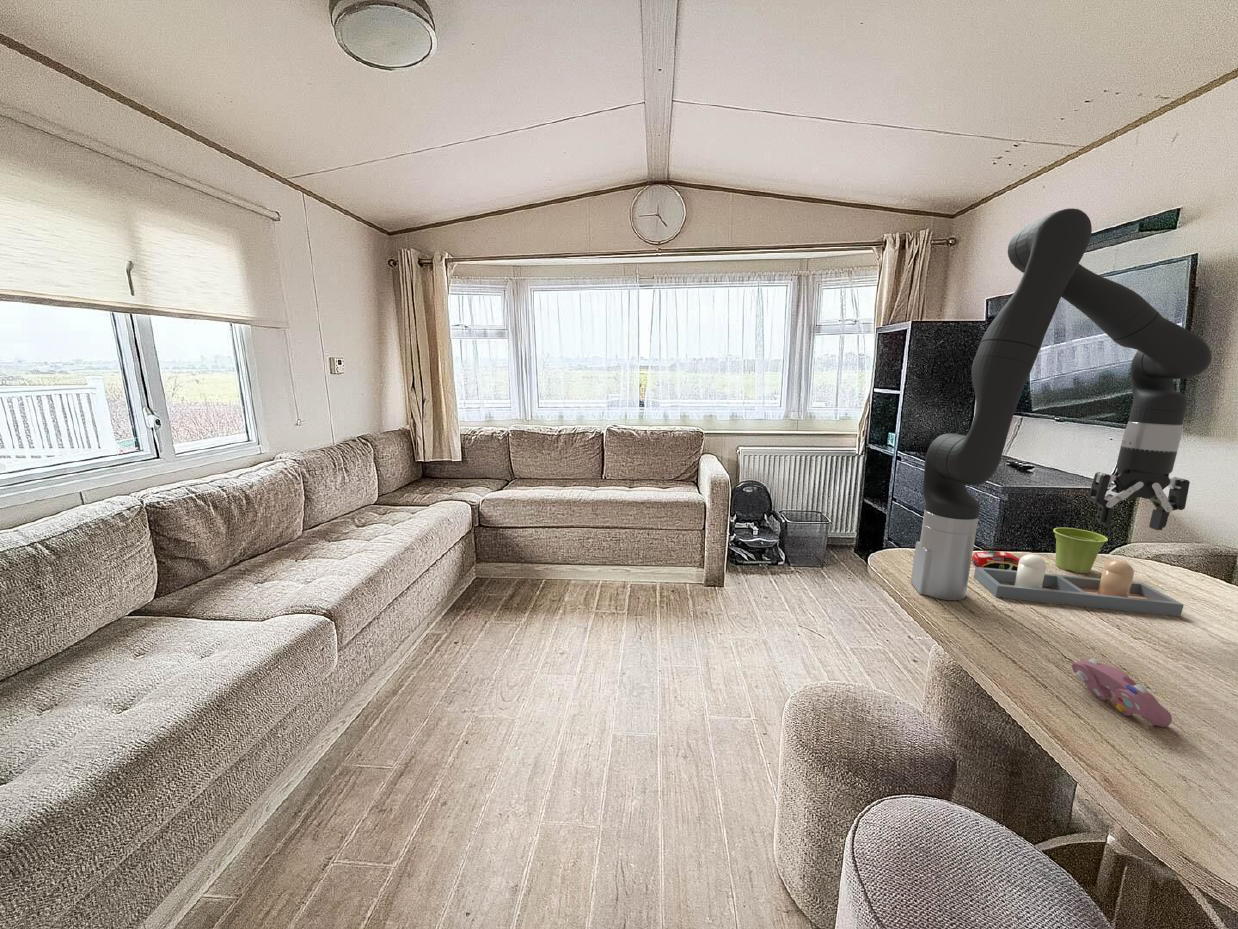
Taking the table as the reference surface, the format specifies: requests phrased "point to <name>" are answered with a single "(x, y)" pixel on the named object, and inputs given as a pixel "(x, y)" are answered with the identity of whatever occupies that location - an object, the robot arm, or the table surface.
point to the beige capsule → (1116, 579)
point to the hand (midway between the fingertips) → (1129, 526)
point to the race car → (996, 560)
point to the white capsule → (1030, 571)
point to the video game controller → (1121, 691)
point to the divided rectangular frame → (1078, 592)
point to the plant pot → (1077, 549)
